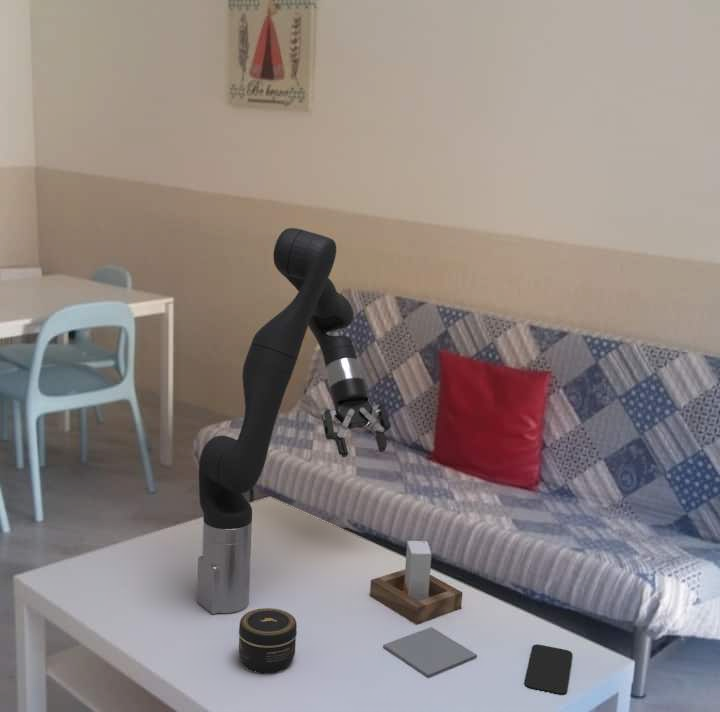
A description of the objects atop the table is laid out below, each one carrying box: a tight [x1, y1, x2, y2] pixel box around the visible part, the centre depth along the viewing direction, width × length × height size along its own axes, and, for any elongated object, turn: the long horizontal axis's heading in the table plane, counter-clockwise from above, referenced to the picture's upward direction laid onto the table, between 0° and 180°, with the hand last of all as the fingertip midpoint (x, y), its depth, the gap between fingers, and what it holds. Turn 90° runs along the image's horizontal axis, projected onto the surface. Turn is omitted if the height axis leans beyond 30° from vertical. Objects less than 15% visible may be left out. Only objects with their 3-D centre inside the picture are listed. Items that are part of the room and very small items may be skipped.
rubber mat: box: [382, 626, 478, 679], centre depth 175 cm, size 12×12×1 cm
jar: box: [238, 607, 298, 674], centre depth 168 cm, size 10×10×8 cm
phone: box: [523, 644, 573, 696], centre depth 172 cm, size 7×1×15 cm
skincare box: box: [403, 540, 432, 601], centre depth 192 cm, size 6×4×12 cm
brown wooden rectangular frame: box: [369, 568, 463, 625], centre depth 193 cm, size 12×14×4 cm
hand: (364, 453), depth 203 cm, fingers open, 8 cm apart
